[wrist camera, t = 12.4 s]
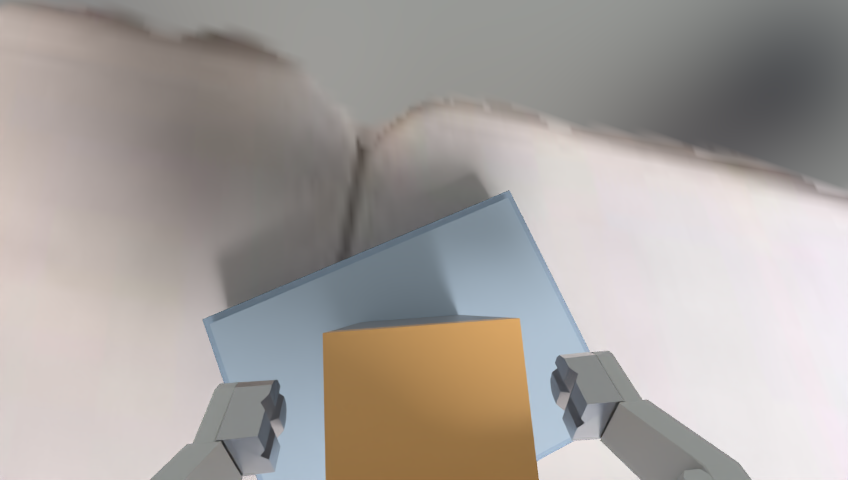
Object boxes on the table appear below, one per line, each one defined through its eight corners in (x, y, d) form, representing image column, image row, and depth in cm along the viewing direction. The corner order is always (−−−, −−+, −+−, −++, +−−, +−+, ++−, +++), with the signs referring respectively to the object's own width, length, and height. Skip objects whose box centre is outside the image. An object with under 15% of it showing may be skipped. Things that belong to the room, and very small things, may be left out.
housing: (467, 416, 17) (545, 536, 8) (366, 426, 16) (327, 564, 7) (458, 314, 17) (519, 317, 9) (361, 321, 17) (322, 333, 8)
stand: (311, 548, 18) (292, 599, 15) (229, 318, 20) (197, 319, 17) (591, 401, 20) (626, 417, 17) (495, 205, 22) (511, 187, 19)
